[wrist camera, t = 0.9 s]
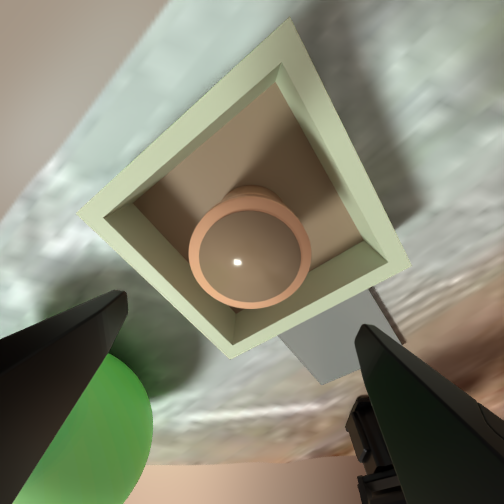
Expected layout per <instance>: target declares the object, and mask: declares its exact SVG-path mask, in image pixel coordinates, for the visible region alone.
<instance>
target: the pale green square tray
mask: <svg viewBox="0 0 504 504" xmlns="http://www.w3.org/2000/svg"><path fill="white" fill-rule="evenodd" d="M244 185H259V186H263V187H266V188H268V189H270V190H271V191H273V192H274V193H276V194H277V195H278V196H279V197H280V198H281V200H282V201H283V203H284V204H285V205H286V206H287V207H288V208H290V209H291V210H292V211H293V212H294V213H295V215H296V216H297V217H298V219H299V220H300V222H301V223H302V225H303V227H304V229H305V231H306V233H307V235H308V237H309V240H310V244H311V265H310V268H309V271H308V274H307V276H306V278H305V280H304V281H303V283H302V284H301V286H300V287H299V288H298V289H297V290H296V291H295V292H294V293H293V294H292V295H291V296H289V297H288V298H287V299H285V300H283V301H281V302H279V303H277V304H275V305H272V306H269V307H264V308H258V309H244V308H237V307H233V306H230V305H227V304H224V303H222V302H220V301H218V300H216V299H215V298H213V297H212V296H210V295H209V294H208V293H207V292H206V291H205V290H204V289H203V288H202V287H201V286H200V285H199V283H198V282H197V280H196V279H195V277H194V275H193V272H192V270H191V267H190V263H189V244H190V240H191V237H192V234H193V232H194V230H195V228H196V226H197V225H198V223H199V222H200V221H201V219H202V218H203V216H204V215H205V214H206V213H207V212H208V211H209V210H210V209H211V208H212V207H213V206H214V205H216V204H217V203H219V202H220V201H221V200H222V199H223V197H224V196H225V195H226V194H228V193H229V192H230V191H232V190H233V189H235V188H238V187H240V186H244ZM76 214H77V215H78V216H79V217H80V218H81V219H82V220H83V221H84V222H85V223H86V224H87V225H88V226H89V227H90V228H92V229H93V230H94V231H95V232H96V233H97V234H98V235H99V236H100V237H101V238H102V239H103V240H104V241H105V242H106V243H107V244H108V245H109V246H111V247H112V248H113V249H114V250H115V251H116V252H117V253H118V254H119V255H120V256H121V257H122V258H123V259H124V260H125V261H126V262H127V263H128V264H130V265H131V266H132V267H133V268H134V269H135V270H136V271H137V272H138V273H139V274H140V275H141V276H142V277H143V278H144V279H145V280H146V281H148V282H149V283H150V284H151V285H152V286H153V287H154V288H155V289H156V290H157V291H158V292H159V293H160V294H161V295H162V296H163V297H164V298H165V299H167V300H168V301H169V302H170V303H171V304H172V305H173V306H174V307H175V308H176V309H177V310H178V311H179V312H180V313H181V314H182V315H183V316H185V317H186V318H187V319H188V320H189V321H190V322H191V323H192V324H193V325H194V326H195V327H196V328H197V329H198V330H199V331H200V332H201V333H202V334H204V335H205V336H206V337H207V338H208V339H209V340H210V341H211V342H212V343H213V344H214V345H215V346H216V347H217V348H218V349H219V350H220V351H222V352H223V353H224V354H225V355H226V356H227V357H228V358H229V359H232V358H234V357H236V356H238V355H240V354H242V353H244V352H246V351H248V350H250V349H252V348H254V347H256V346H258V345H260V344H261V343H263V342H265V341H267V340H269V339H271V338H273V337H275V336H277V335H279V334H281V333H283V332H285V331H287V330H289V329H291V328H293V327H294V326H296V325H298V324H300V323H302V322H304V321H306V320H308V319H310V318H312V317H314V316H316V315H318V314H320V313H322V312H324V311H326V310H327V309H329V308H331V307H333V306H335V305H337V304H339V303H341V302H343V301H345V300H347V299H349V298H351V297H353V296H355V295H357V294H358V293H360V292H362V291H364V290H366V289H368V288H370V287H372V286H374V285H376V284H378V283H380V282H382V281H384V280H386V279H388V278H390V277H391V276H393V275H395V274H397V273H399V272H401V271H403V270H405V269H407V268H409V267H411V266H412V265H411V263H410V261H409V259H408V257H407V255H406V253H405V251H404V249H403V247H402V245H401V242H400V240H399V238H398V236H397V234H396V232H395V230H394V228H393V226H392V224H391V222H390V220H389V218H388V216H387V214H386V212H385V210H384V208H383V206H382V204H381V202H380V200H379V198H378V196H377V193H376V191H375V189H374V187H373V185H372V183H371V181H370V179H369V177H368V175H367V173H366V171H365V169H364V167H363V165H362V163H361V161H360V159H359V157H358V155H357V153H356V151H355V149H354V146H353V144H352V142H351V140H350V138H349V136H348V134H347V132H346V130H345V128H344V126H343V124H342V122H341V120H340V118H339V116H338V114H337V112H336V110H335V108H334V106H333V104H332V102H331V100H330V97H329V95H328V93H327V91H326V89H325V87H324V85H323V83H322V81H321V79H320V77H319V75H318V73H317V71H316V69H315V67H314V65H313V63H312V61H311V59H310V57H309V55H308V53H307V50H306V48H305V46H304V44H303V42H302V40H301V38H300V36H299V34H298V32H297V30H296V28H295V26H294V24H293V22H292V20H291V18H290V17H289V18H288V19H286V20H285V21H284V22H283V23H282V24H281V25H280V26H279V27H278V28H277V29H276V30H275V31H273V32H272V33H271V34H270V35H269V36H268V37H267V38H266V39H265V40H264V41H263V42H261V43H260V44H259V45H258V46H257V47H256V48H255V49H254V50H253V51H252V52H251V53H250V54H248V55H247V56H246V57H245V58H244V59H243V60H242V61H241V62H240V63H239V64H238V65H236V66H235V67H234V68H233V69H232V70H231V71H230V72H229V73H228V74H227V75H226V76H225V77H223V78H222V79H221V80H220V81H219V82H218V83H217V84H216V85H215V86H214V87H213V88H211V89H210V90H209V91H208V92H207V93H206V94H205V95H204V96H203V97H202V98H201V99H200V100H198V101H197V102H196V103H195V104H194V105H193V106H192V107H191V108H190V109H189V110H188V111H186V112H185V113H184V114H183V115H182V116H181V117H180V118H179V119H178V120H177V121H176V122H175V123H173V124H172V125H171V126H170V127H169V128H168V129H167V130H166V131H165V132H164V133H163V134H161V135H160V136H159V137H158V138H157V139H156V140H155V141H154V142H153V143H152V144H151V145H150V146H148V147H147V148H146V149H145V150H144V151H143V152H142V153H141V154H140V155H139V156H138V157H136V158H135V159H134V160H133V161H132V162H131V163H130V164H129V165H128V166H127V167H126V168H125V169H123V170H122V171H121V172H120V173H119V174H118V175H117V176H116V177H115V178H114V179H113V180H111V181H110V182H109V183H108V184H107V185H106V186H105V187H104V188H103V189H102V190H101V191H100V192H98V193H97V194H96V195H95V196H94V197H93V198H92V199H91V200H90V201H89V202H88V203H86V204H85V205H84V206H83V207H82V208H81V209H80V210H79V211H78V212H77V213H76Z"/></svg>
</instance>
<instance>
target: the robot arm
mask: <svg viewBox="0 0 504 504" xmlns="http://www.w3.org/2000/svg"><path fill="white" fill-rule="evenodd" d="M127 314H128V301H127V293H126V292H125V291H119V290H113V291H110V292H108V293H106V294H103V295H101V296H99V297H97V298H94V299H92V300H90V301H87V302H85V303H83V304H80V305H78V306H76V307H74V308H71V309H69V310H67V311H64V312H62V313H60V314H57V315H55V316H53V317H51V318H48V319H46V320H44V321H41V322H39V323H37V324H34V325H32V326H30V327H28V328H25V329H23V330H21V331H18V332H16V333H14V334H11V335H9V336H7V337H4V338H2V339H0V504H12V503H13V502H14V500H15V499H16V497H17V495H18V494H19V492H20V491H21V489H22V488H23V486H24V485H25V483H26V481H27V480H28V478H29V477H30V475H31V474H32V472H33V470H34V469H35V467H36V466H37V464H38V463H39V461H40V459H41V458H42V456H43V455H44V453H45V452H46V450H47V448H48V447H49V445H50V444H51V442H52V441H53V439H54V437H55V436H56V434H57V433H58V431H59V430H60V428H61V426H62V425H63V423H64V422H65V420H66V419H67V417H68V415H69V414H70V412H71V411H72V409H73V408H74V406H75V404H76V403H77V401H78V400H79V398H80V397H81V395H82V393H83V392H84V390H85V389H86V387H87V386H88V384H89V382H90V381H91V379H92V378H93V376H94V375H95V373H96V371H97V370H98V368H99V367H100V365H101V364H102V362H103V360H104V359H105V357H106V356H107V354H108V352H109V350H110V348H111V346H112V344H113V342H114V340H115V338H116V336H117V334H118V332H119V330H120V328H121V326H122V324H123V322H124V320H125V318H126V316H127ZM354 344H355V349H356V353H357V357H358V361H359V365H360V369H361V373H362V377H363V380H364V384H365V387H366V390H367V393H368V396H369V398H370V399H363V398H360V399H357V400H356V402H355V405H354V407H353V409H352V412H351V414H350V417H349V419H348V421H347V424H346V426H345V428H346V431H347V432H349V434H350V437H351V440H352V443H353V446H354V450H355V453H356V456H357V458H358V461H359V462H360V463H363V465H364V468H365V471H366V474H367V475H365V476H362V475H361V476H358V477H357V478H358V483H359V484H358V489H359V492H360V497H361V501H362V504H504V421H503V420H502V419H501V418H499V417H498V416H496V415H495V414H494V413H492V412H491V411H490V410H488V409H487V408H486V407H484V406H483V405H482V404H480V403H477V401H476V400H475V399H473V398H472V397H471V396H469V395H468V394H467V393H465V392H464V391H463V390H461V389H460V388H458V387H457V386H456V385H454V384H453V383H452V382H450V381H449V380H448V379H446V378H445V377H444V376H442V375H441V374H440V373H438V372H437V371H436V370H434V369H433V368H431V367H430V366H429V365H427V364H426V363H425V362H423V361H422V360H421V359H419V358H418V357H417V356H415V355H414V354H413V353H411V352H410V351H409V350H407V349H406V348H404V347H403V346H402V345H400V344H399V343H398V342H396V341H395V340H394V339H392V338H391V337H390V336H388V335H387V334H386V333H384V332H383V331H382V330H380V329H379V328H377V327H376V326H375V325H371V324H362V325H361V327H360V329H359V331H358V333H357V335H356V337H355V341H354Z"/></svg>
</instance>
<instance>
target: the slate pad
mask: <svg viewBox="0 0 504 504" xmlns="http://www.w3.org/2000/svg"><path fill="white" fill-rule="evenodd" d="M362 324H371V325H375V326H376V327H377V328H379V329H380V330H382V331H383V332H384V333H386V334H387V335H388V336H390V337H391V338H392V339H394V340H395V341H396V342H398V343H399V344H400V345H402V344H401V343H400V341H399V339H398V338H397V336H396V334H395V333H394V331H393V329H392V328H391V326H390V324H389V323H388V321H387V319H386V318H385V316H384V315H383V313H382V311H381V310H380V308H379V306H378V305H377V303H376V301H375V300H374V298H373V296H372V295H371V293H370V291H369V290H368V289H366V290H364V291H362V292H360V293H358V294H357V295H355V296H353V297H351V298H349V299H347V300H345V301H343V302H341V303H339V304H337V305H335V306H333V307H331V308H329V309H327V310H326V311H324V312H322V313H320V314H318V315H316V316H314V317H312V318H310V319H308V320H306V321H304V322H302V323H300V324H298V325H296V326H294V327H293V328H291V329H289V330H287V331H285V332H283V333H281V334H279V335H277V336H278V337H279V338H280V339H281V340H282V341H283V342H284V343H285V345H286V346H287V347H288V348H289V349H290V350H291V351H292V352H293V354H294V355H295V356H296V357H297V358H298V359H299V360H300V362H301V363H302V364H303V365H304V366H305V367H306V368H307V369H308V371H309V372H310V373H311V374H312V375H313V376H314V377H315V378H316V380H317V381H318V382H319V383H320V384H321V385H324V384H326V383H328V382H331V381H333V380H335V379H338V378H340V377H343V376H345V375H347V374H350V373H352V372H354V371H357V370H359V369H360V365H359V361H358V357H357V353H356V349H355V344H354V341H355V337H356V335H357V333H358V331H359V329H360V327H361V325H362Z"/></svg>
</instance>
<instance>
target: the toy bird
mask: <svg viewBox="0 0 504 504" xmlns="http://www.w3.org/2000/svg"><path fill="white" fill-rule="evenodd" d="M152 435H153V416H152V409H151V405H150V401H149V398H148V395H147V393H146V391H145V388H144V387H143V385H142V383H141V381H140V380H139V378H138V377H137V376H136V375H135V373H134V372H133V371H132V370H131V369H130V368H129V367H128V366H127V365H126V364H124V363H123V362H122V361H120V360H119V359H118V358H116V357H115V356H113V355H111V354H109V353H108V354H107V356H106V357H105V359H104V360H103V362H102V364H101V365H100V367H99V368H98V370H97V371H96V373H95V375H94V376H93V378H92V379H91V381H90V382H89V384H88V386H87V387H86V389H85V390H84V392H83V393H82V395H81V397H80V398H79V400H78V401H77V403H76V404H75V406H74V408H73V409H72V411H71V412H70V414H69V415H68V417H67V419H66V420H65V422H64V423H63V425H62V426H61V428H60V430H59V431H58V433H57V434H56V436H55V437H54V439H53V441H52V442H51V444H50V445H49V447H48V448H47V450H46V452H45V453H44V455H43V456H42V458H41V459H40V461H39V463H38V464H37V466H36V467H35V469H34V470H33V472H32V474H31V475H30V477H29V478H28V480H27V481H26V483H25V485H24V486H23V488H22V489H21V491H20V492H19V494H18V495H17V497H16V499H15V500H14V502H13V503H12V504H123V503H124V502H125V500H126V499H127V498H128V496H129V495H130V493H131V492H132V490H133V489H134V487H135V485H136V484H137V482H138V480H139V478H140V476H141V474H142V472H143V470H144V467H145V465H146V462H147V459H148V456H149V452H150V448H151V442H152Z"/></svg>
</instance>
